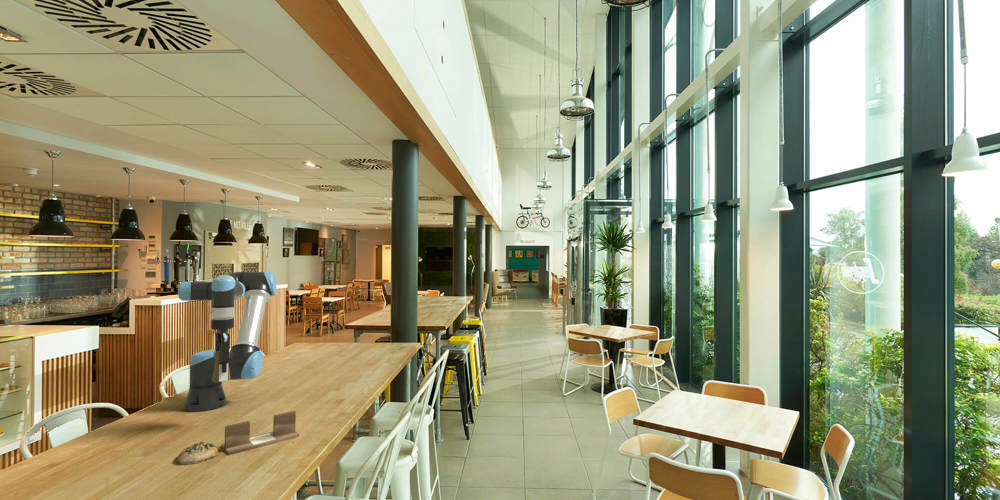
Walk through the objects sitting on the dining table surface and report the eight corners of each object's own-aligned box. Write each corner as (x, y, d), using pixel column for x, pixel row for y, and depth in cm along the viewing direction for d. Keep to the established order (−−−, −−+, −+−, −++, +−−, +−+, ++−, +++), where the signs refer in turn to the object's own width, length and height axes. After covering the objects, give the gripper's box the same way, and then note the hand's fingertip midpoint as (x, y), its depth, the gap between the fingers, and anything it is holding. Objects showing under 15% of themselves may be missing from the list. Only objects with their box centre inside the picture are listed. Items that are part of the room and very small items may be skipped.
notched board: (221, 446, 151) (222, 423, 151) (289, 429, 166) (290, 408, 166) (228, 455, 144) (229, 430, 145) (299, 436, 160) (299, 414, 160)
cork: (234, 378, 174) (234, 350, 174) (219, 382, 168) (219, 353, 169) (223, 377, 176) (224, 348, 176) (208, 380, 171) (208, 351, 171)
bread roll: (193, 448, 149) (195, 434, 149) (225, 454, 148) (227, 439, 148) (167, 465, 138) (169, 449, 138) (202, 471, 137) (204, 455, 137)
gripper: (207, 316, 177) (205, 375, 177) (215, 322, 163) (214, 386, 163) (228, 314, 182) (227, 372, 182) (239, 320, 168) (238, 382, 168)
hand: (221, 378), depth 172 cm, fingers closed on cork, 6 cm apart
